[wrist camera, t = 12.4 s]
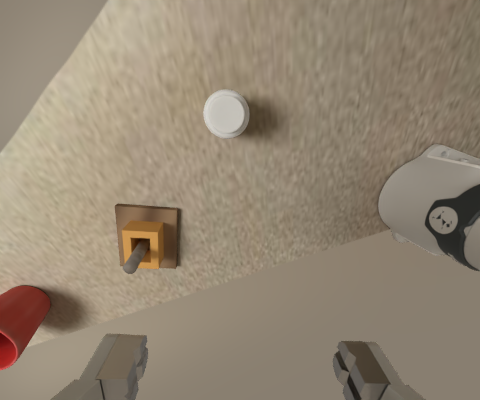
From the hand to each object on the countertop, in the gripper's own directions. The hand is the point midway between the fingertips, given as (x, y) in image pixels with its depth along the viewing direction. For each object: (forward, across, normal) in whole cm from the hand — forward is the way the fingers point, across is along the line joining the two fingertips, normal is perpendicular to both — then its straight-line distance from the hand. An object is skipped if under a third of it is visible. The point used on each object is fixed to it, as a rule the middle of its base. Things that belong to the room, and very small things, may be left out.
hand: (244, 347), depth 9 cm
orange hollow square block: (+28, +14, +13) cm, 34 cm away
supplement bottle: (+30, +2, -9) cm, 31 cm away
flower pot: (+28, +37, +29) cm, 55 cm away
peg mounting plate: (+29, +14, +13) cm, 35 cm away
